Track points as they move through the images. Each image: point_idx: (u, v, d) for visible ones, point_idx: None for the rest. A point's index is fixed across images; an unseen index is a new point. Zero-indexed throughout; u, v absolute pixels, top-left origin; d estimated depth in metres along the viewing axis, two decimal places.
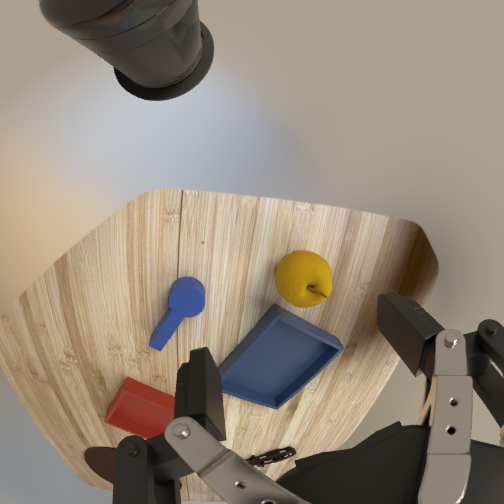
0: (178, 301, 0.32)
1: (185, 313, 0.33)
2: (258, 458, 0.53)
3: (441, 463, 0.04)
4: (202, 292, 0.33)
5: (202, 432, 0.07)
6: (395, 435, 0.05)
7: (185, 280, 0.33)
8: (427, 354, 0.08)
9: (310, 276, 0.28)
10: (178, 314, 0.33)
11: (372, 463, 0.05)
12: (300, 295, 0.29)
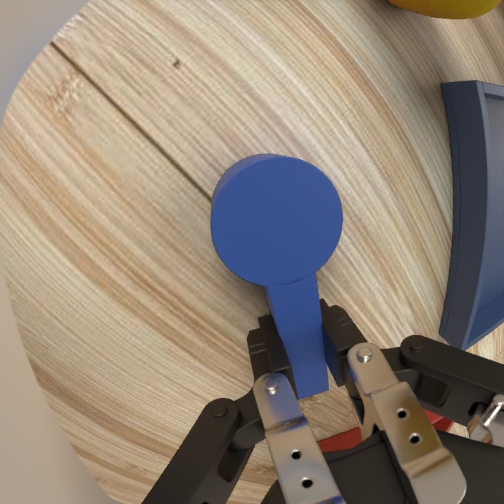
0: (256, 246, 0.09)
1: (308, 260, 0.09)
2: None
3: (424, 471, 0.04)
4: None
5: (289, 393, 0.08)
6: None
7: (223, 178, 0.09)
8: (343, 366, 0.09)
9: None
10: (294, 280, 0.10)
11: (372, 463, 0.05)
12: None
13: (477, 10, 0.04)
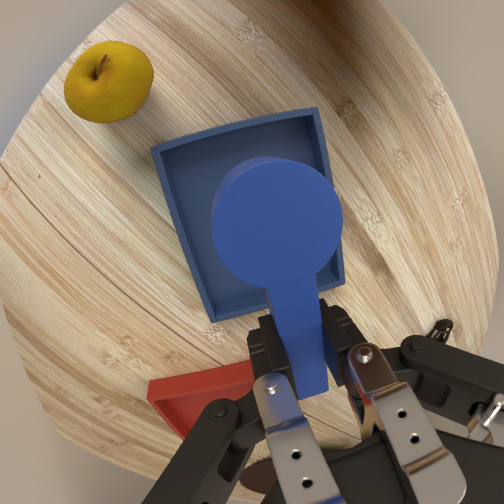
0: (256, 249, 0.09)
1: (308, 263, 0.10)
2: None
3: (424, 471, 0.04)
4: None
5: (289, 393, 0.08)
6: None
7: (224, 180, 0.09)
8: (343, 366, 0.09)
9: (77, 68, 0.12)
10: (294, 282, 0.10)
11: (372, 463, 0.05)
12: (88, 92, 0.13)
13: (119, 115, 0.16)
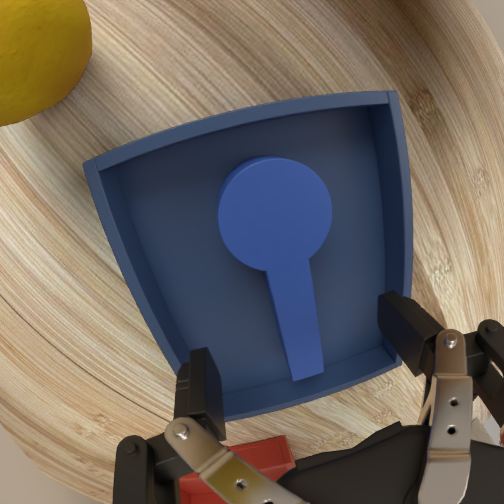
0: (256, 236, 0.10)
1: (302, 248, 0.11)
2: None
3: (441, 463, 0.04)
4: None
5: (202, 432, 0.07)
6: (395, 435, 0.05)
7: (228, 176, 0.11)
8: (427, 354, 0.08)
9: None
10: (290, 266, 0.11)
11: (372, 463, 0.05)
12: None
13: (16, 108, 0.06)
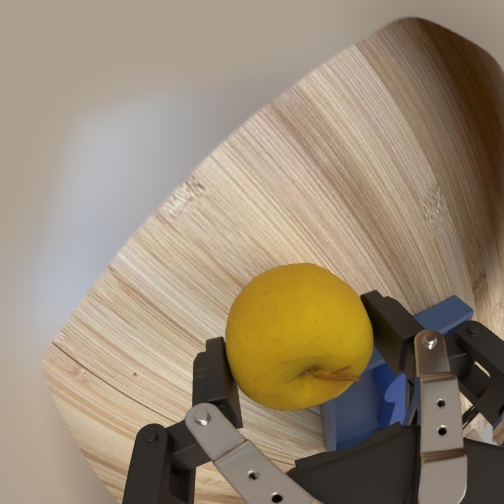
0: (398, 392, 0.17)
1: None
2: None
3: (437, 464, 0.04)
4: None
5: (222, 420, 0.07)
6: (395, 435, 0.05)
7: None
8: (406, 354, 0.09)
9: (280, 369, 0.09)
10: None
11: (372, 463, 0.05)
12: (302, 402, 0.10)
13: None
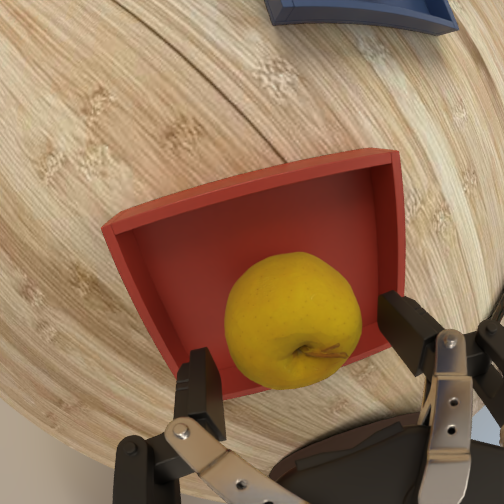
0: None
1: None
2: None
3: (441, 463, 0.04)
4: None
5: (202, 432, 0.07)
6: (395, 435, 0.05)
7: None
8: (427, 354, 0.08)
9: (274, 346, 0.10)
10: None
11: (372, 463, 0.05)
12: (295, 380, 0.11)
13: None
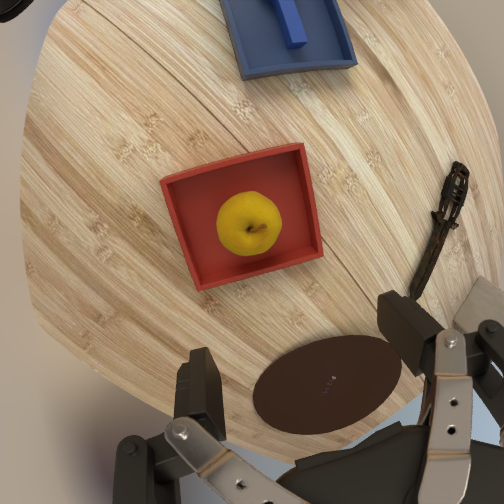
0: None
1: None
2: (441, 211, 0.35)
3: (441, 463, 0.04)
4: None
5: (202, 432, 0.07)
6: (395, 435, 0.05)
7: None
8: (427, 354, 0.08)
9: (236, 223, 0.25)
10: None
11: (372, 463, 0.05)
12: (248, 244, 0.26)
13: None
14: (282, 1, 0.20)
